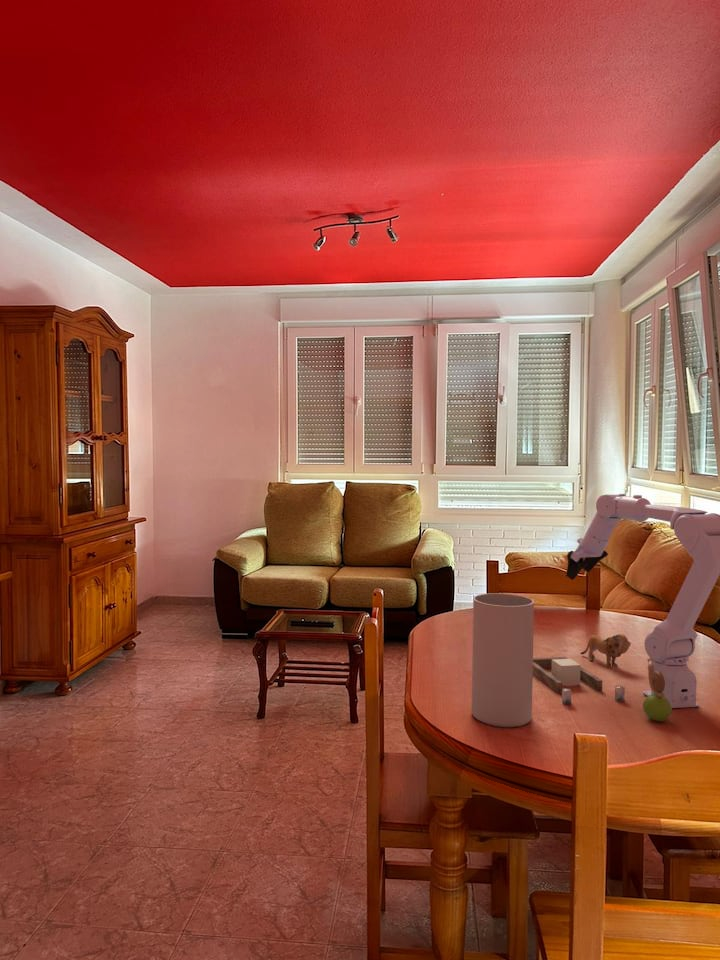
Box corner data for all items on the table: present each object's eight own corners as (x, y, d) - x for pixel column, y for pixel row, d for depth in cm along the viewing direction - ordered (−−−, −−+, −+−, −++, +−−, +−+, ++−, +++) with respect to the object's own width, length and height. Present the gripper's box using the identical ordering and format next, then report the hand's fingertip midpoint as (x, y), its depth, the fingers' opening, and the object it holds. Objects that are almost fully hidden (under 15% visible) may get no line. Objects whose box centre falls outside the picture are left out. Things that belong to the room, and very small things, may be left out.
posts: (626, 701, 144) (626, 688, 144) (564, 705, 142) (564, 691, 142) (621, 698, 146) (621, 685, 146) (560, 701, 144) (560, 688, 144)
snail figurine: (660, 713, 138) (662, 658, 138) (676, 725, 132) (677, 668, 131) (636, 713, 138) (637, 658, 137) (650, 725, 131) (651, 668, 131)
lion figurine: (633, 668, 168) (634, 634, 167) (621, 672, 165) (622, 637, 164) (586, 654, 180) (586, 622, 180) (573, 657, 177) (574, 625, 177)
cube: (580, 685, 155) (580, 665, 155) (560, 686, 154) (561, 665, 154) (569, 678, 160) (570, 658, 160) (551, 679, 159) (551, 659, 159)
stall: (602, 690, 151) (602, 680, 151) (557, 693, 149) (557, 682, 149) (564, 666, 169) (565, 656, 169) (524, 668, 167) (524, 658, 167)
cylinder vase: (459, 715, 135) (461, 599, 135) (492, 700, 144) (494, 591, 143) (510, 734, 126) (513, 609, 126) (542, 717, 135) (545, 600, 134)
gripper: (600, 519, 173) (580, 557, 180) (570, 531, 164) (550, 571, 171) (622, 534, 168) (601, 573, 175) (592, 547, 160) (571, 588, 167)
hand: (577, 573), depth 173 cm, fingers open, 7 cm apart
